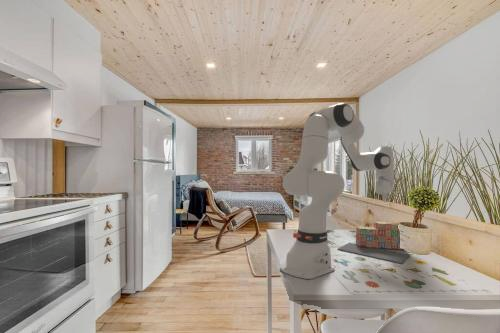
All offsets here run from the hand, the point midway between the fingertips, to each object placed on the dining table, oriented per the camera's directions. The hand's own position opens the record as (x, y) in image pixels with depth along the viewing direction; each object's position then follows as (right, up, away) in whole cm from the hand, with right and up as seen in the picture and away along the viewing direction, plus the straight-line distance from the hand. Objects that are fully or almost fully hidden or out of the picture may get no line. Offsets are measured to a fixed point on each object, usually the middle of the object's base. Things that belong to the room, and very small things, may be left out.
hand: (385, 201), depth 135 cm
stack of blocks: (-8, -22, -9) cm, 25 cm away
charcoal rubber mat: (-15, -22, -17) cm, 32 cm away
